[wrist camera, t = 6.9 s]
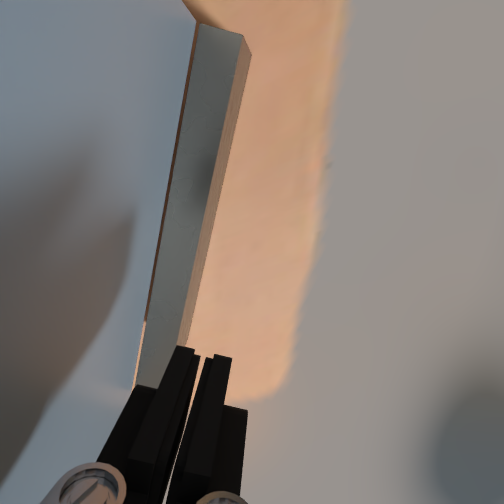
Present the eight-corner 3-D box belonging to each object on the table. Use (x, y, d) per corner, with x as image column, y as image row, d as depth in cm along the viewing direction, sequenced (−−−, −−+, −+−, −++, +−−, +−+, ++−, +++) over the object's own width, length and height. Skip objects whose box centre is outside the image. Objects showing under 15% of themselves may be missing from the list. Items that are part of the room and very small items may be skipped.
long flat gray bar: (220, 46, 24) (199, 23, 18) (251, 54, 24) (242, 34, 18) (163, 333, 31) (134, 390, 25) (187, 339, 31) (164, 397, 25)
